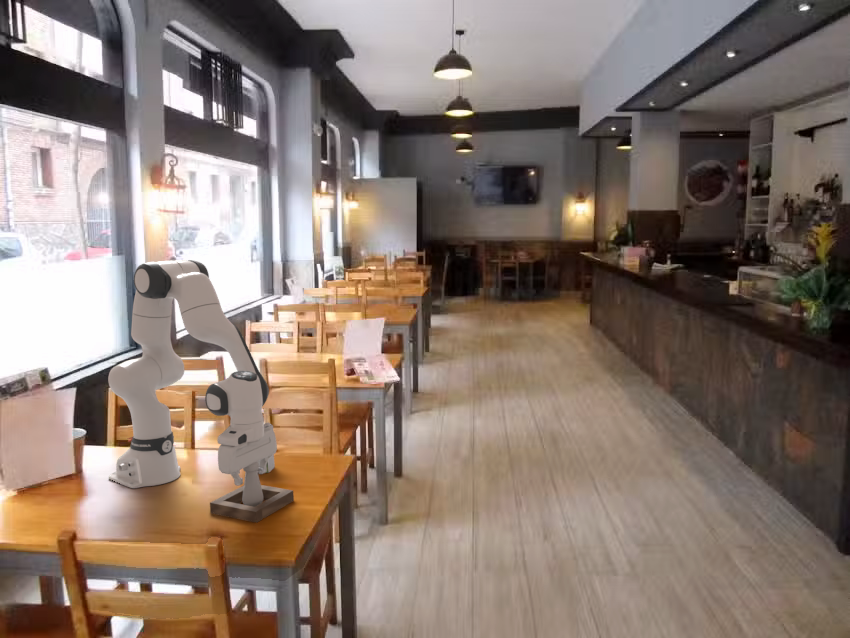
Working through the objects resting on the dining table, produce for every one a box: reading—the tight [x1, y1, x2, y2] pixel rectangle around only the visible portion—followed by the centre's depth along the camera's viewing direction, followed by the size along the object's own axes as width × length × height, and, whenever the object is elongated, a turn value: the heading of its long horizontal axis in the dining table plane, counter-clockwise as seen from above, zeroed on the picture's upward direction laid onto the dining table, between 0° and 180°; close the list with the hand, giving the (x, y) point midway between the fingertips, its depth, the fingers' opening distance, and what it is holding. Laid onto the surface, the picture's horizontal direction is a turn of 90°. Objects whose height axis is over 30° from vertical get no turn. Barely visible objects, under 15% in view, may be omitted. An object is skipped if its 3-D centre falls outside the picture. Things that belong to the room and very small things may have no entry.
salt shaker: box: [242, 462, 264, 507], centre depth 190 cm, size 6×6×13 cm
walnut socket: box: [209, 484, 295, 523], centre depth 191 cm, size 16×16×3 cm
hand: (250, 478), depth 190 cm, fingers open, 8 cm apart
